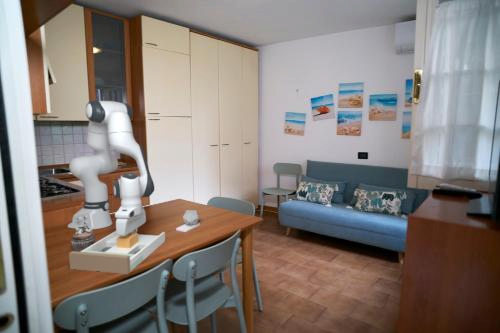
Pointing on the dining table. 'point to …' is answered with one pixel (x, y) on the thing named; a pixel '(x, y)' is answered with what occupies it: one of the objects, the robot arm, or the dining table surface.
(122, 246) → the block
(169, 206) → the dining table surface
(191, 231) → the dining table surface
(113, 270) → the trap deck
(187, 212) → the die
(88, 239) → the cupcake
